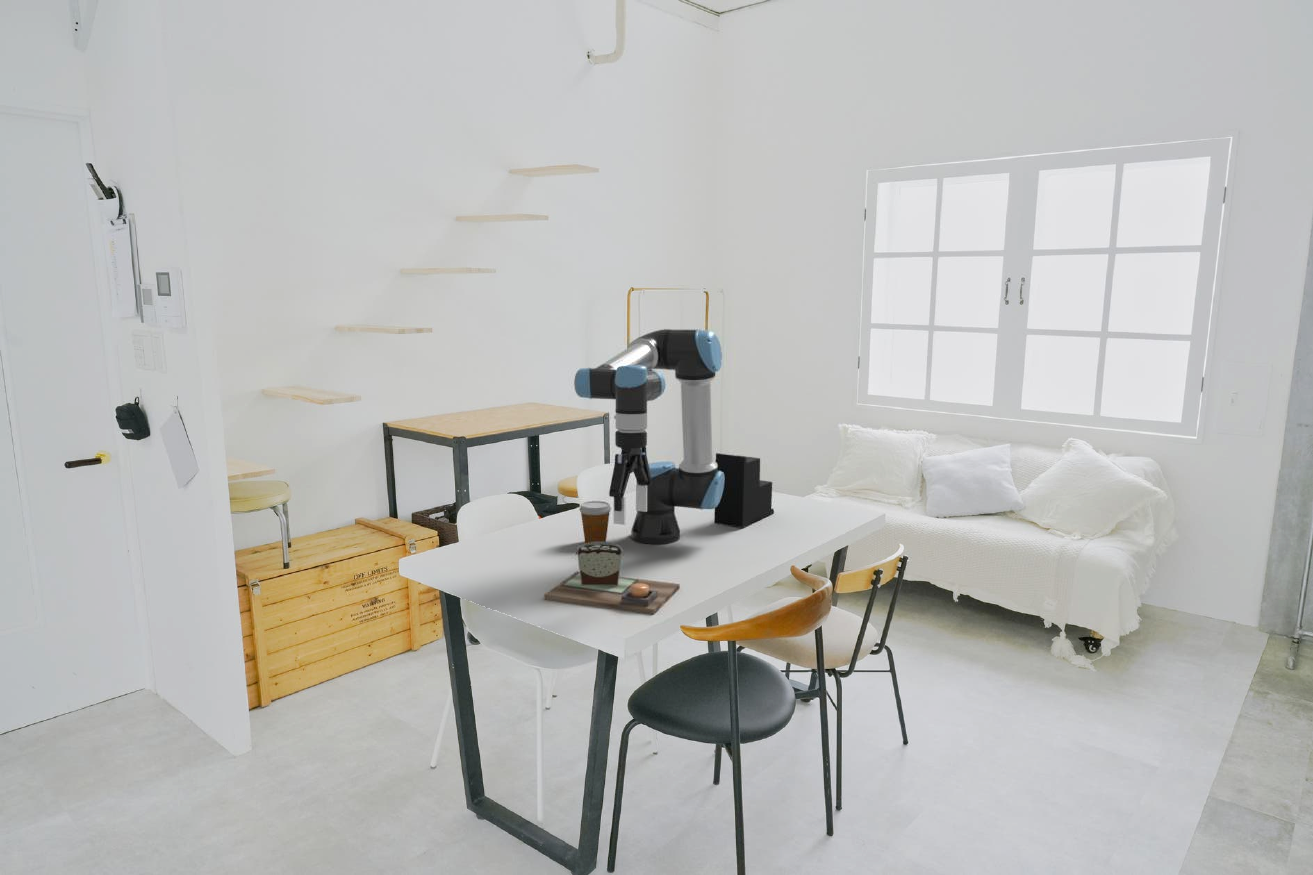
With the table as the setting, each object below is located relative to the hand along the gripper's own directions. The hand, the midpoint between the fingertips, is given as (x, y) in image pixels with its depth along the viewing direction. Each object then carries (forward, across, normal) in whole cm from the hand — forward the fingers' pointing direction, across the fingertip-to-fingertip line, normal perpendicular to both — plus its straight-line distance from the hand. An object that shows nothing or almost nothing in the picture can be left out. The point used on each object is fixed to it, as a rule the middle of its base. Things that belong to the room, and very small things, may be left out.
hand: (630, 517), depth 211 cm
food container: (+20, -8, -12) cm, 25 cm away
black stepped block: (+21, -87, +5) cm, 90 cm away
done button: (+19, 0, +3) cm, 19 cm away
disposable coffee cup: (+21, -43, -30) cm, 56 cm away
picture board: (+22, -4, -6) cm, 23 cm away
